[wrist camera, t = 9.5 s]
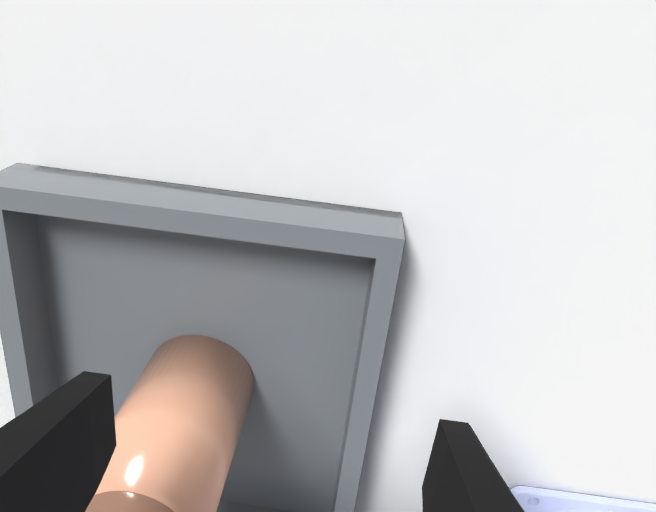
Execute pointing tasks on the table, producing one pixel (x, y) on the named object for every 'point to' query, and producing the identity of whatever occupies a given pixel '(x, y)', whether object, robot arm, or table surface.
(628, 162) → the table surface
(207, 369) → the peach cylinder
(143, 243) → the tray
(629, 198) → the table surface
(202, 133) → the table surface
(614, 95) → the table surface
